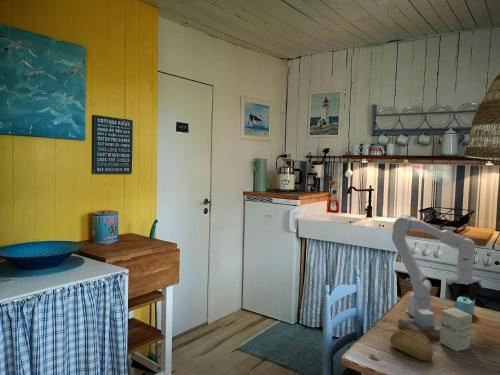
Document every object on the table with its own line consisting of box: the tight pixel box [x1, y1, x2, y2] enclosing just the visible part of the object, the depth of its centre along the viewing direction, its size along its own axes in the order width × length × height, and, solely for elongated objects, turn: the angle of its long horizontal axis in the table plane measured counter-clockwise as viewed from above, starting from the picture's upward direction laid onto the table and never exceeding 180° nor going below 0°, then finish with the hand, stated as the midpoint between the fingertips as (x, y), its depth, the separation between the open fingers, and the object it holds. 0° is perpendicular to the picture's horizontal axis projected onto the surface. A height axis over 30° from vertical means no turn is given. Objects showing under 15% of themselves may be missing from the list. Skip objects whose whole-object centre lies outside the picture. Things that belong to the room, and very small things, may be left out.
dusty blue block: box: [415, 309, 435, 327], centre depth 155 cm, size 5×5×5 cm
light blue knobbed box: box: [453, 296, 476, 315], centre depth 173 cm, size 12×6×8 cm, turn 134°
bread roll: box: [389, 328, 434, 362], centre depth 138 cm, size 10×15×8 cm, turn 41°
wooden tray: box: [397, 317, 441, 339], centre depth 156 cm, size 12×15×3 cm
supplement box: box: [439, 307, 473, 352], centre depth 144 cm, size 7×7×13 cm
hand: (462, 300), depth 161 cm, fingers open, 7 cm apart
